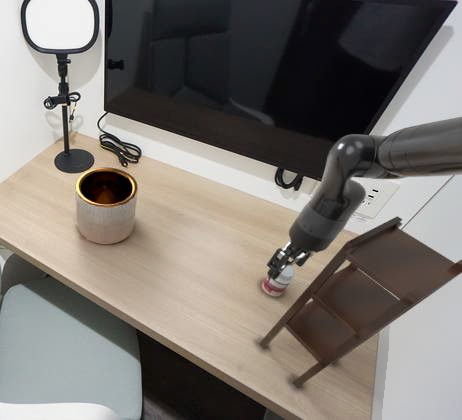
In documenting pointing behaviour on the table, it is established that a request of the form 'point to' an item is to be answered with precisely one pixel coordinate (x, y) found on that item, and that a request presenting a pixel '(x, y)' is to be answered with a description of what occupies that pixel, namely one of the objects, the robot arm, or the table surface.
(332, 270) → the rack
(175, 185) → the table surface
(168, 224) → the table surface
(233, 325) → the table surface
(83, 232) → the planter
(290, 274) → the pill bottle
